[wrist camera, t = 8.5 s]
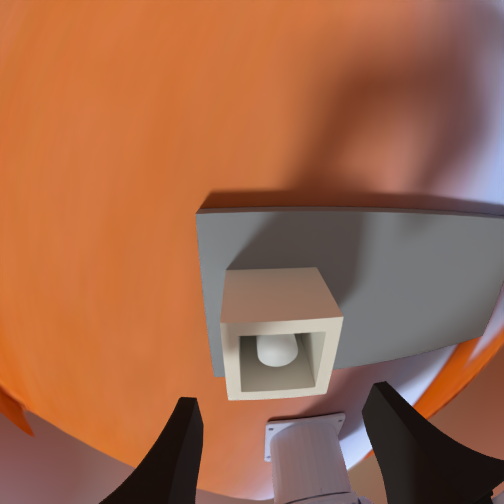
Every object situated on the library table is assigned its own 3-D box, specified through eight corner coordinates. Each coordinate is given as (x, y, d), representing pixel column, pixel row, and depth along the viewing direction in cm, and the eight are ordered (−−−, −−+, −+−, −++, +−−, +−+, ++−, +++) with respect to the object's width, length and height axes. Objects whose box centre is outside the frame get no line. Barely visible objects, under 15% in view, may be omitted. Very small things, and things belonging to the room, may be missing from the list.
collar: (308, 337, 18) (326, 393, 13) (230, 341, 18) (228, 400, 13) (316, 267, 16) (343, 316, 11) (225, 270, 16) (219, 322, 11)
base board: (476, 329, 21) (503, 358, 16) (215, 365, 20) (210, 419, 15) (510, 216, 16) (549, 236, 12) (198, 208, 16) (180, 239, 11)
